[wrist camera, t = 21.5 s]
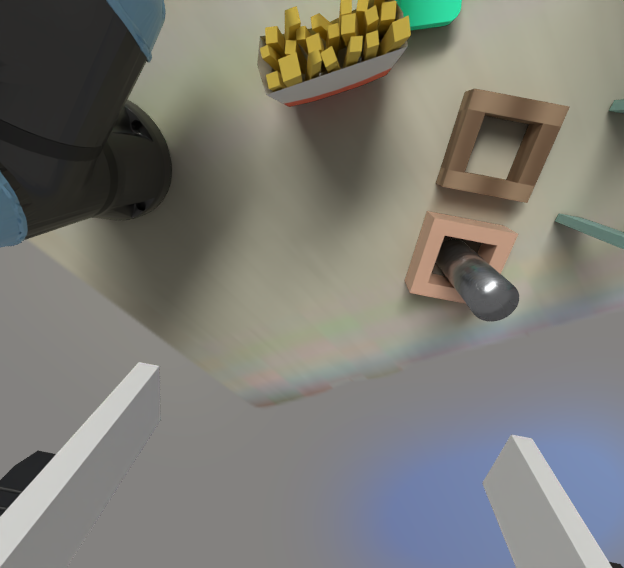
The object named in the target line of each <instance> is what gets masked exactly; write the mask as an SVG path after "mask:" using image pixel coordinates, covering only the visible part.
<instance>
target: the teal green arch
mask: <svg viewBox="0 0 624 568" xmlns="http://www.w3.org/2000/svg"><path fill="white" fill-rule="evenodd" d="M609 111H613V112H619V113H624V99H622V100H614V102H613V104H612V106H611V108H610V110H609ZM555 221H556V222H558V223H560V224H563V225H565V226H568V227H570V228H573V229H575V230H578V231H580V232H583V233H585V234H587V235H590V236H592V237H595V238H597V239H600V240H602V241H605V242H607V243H610V244H612V245H614V246H617V247H619V248H622V249H624V232H621V231H619V230H616V229H613V228H610V227H607V226H604V225H601V224H598V223H595V222H593V221H590V220H587V219H584V218H580V217H575V216H569V215H564V214H558V216H557V218H556V220H555Z"/></svg>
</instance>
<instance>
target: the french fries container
mask: <svg viewBox="0 0 624 568" xmlns="http://www.w3.org/2000/svg"><path fill="white" fill-rule="evenodd" d="M300 24H301V22H300V18H299V14H298V10H297V6H296V7H293V8H290V9H288V10H285V34H281V32H280V30H279V29H278V27H277V26H274V27H267V28H265V33H266V36H260V42H259V53H258V64H257V65H258V69H259V72H260V75H261V79H262V82H263V86H264V89H265V93H266V95H268V96H269V97H271V98H273V99H275V100H277V101H279V102H281V103H283V104H285V105H287V106H289V107H291V106H295V105H299V104H304V103H308V102H313V101H316V100H319V99H322V98H326V97H329V96H332V95H335V94H338V93H341V92H344V91H347V90H350V89H353V88H356V87H359V86H362V85H364V84H366V83H369V82H371V81H373V80H376V79H378V78H380V77H383V76H385V75H387V74H388V72H389V71H390V70H391V68H392V67H393V66H394V64H395V63H396V62H397V60H398V59H399V58H400V56H401V55H402V54H403V52H404V51H405V50H406V48H407V47H408V44H407V39H408V38H409V37H410V36H411V32H410V23H409V15H408V16H406V17H404V16H403V12H402V10H401V9H400V7H399V6H398V4H397V3H396V1H395V0H358V3H357V9H355V10H353V11H352V0H341V3H340V15H339V18H337V19H335V20H333V21H331V22H329V21H328V20H327V19H325V18H324V17H323V16H322V15H321V14H320V13H319V14H317V15H314V16H312V17H311V24H312V28H311V29H307V28H306V26H301V27H300Z"/></svg>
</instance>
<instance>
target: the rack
mask: <svg viewBox="0 0 624 568" xmlns="http://www.w3.org/2000/svg"><path fill="white" fill-rule="evenodd" d="M444 236H450V237H455V238H461V239H466V240H471V241H476V242H481V246H480V248H479V250H478V253H477V254H478V255H479V256H480V257H482V258H483V259H484V260H485V261H486V262H487V263H488V264H490V265H491V266H492V267H493V268H494V269H495V270H496V271H498V272H499V273H500V274H501V272H502V269H503V267H504V265H505V263H506V261H507V258H508V256H509V254H510V252H511V249H512V247H513V245H514V243H515V241H516V238H517V236H518V234H517V233H516V232H514V231H512V230H510V229H509V228H507V227H505V226H503V225H498V224H493V223H487V222H482V221H477V220H472V219H467V218H461V217H456V216H451V215H446V214H440V213H435V212H430V211H427V212H426V215H425V219H424V222H423V225H422V228H421V231H420V234H419V237H418V240H417V244H416V247H415V250H414V253H413V256H412V259H411V262H410V265H409V269H408V272H407V275H406V278H405V283H406V285H407V287H408V290H409V292H410V293H413V294H418V295H423V296H429V297H434V298H439V299H444V300H449V301H455V302H460V303H465V304H466V302H465V301H464V300H463V298H462V297H461V296H460V294H459V293H458V292H457V290H456V289H455V288H454V286H453V285H452V283H451V282H450V281H449V279H448V278H447V277H446V276H442V275H437V274H432V270H433V267H434V264H435V261H436V259H437V256H438V253H439V250H440V247H441V244H442V242H443V239H444Z"/></svg>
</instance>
